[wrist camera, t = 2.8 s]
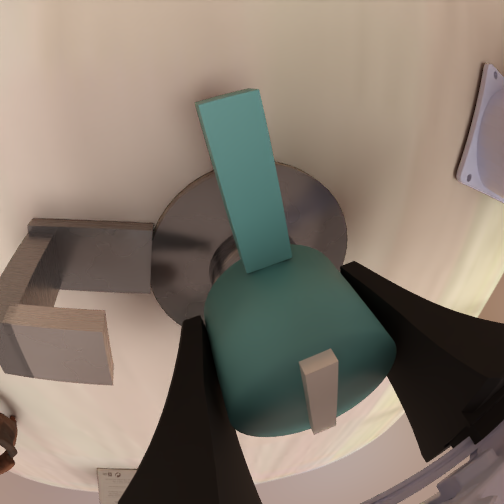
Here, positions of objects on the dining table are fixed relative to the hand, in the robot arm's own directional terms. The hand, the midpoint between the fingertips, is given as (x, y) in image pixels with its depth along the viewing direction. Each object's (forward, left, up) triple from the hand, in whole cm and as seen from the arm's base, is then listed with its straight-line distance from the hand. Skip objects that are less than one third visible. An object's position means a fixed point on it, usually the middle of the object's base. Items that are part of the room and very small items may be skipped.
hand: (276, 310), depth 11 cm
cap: (+1, -2, 0) cm, 2 cm away
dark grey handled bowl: (+3, 0, -3) cm, 4 cm away
